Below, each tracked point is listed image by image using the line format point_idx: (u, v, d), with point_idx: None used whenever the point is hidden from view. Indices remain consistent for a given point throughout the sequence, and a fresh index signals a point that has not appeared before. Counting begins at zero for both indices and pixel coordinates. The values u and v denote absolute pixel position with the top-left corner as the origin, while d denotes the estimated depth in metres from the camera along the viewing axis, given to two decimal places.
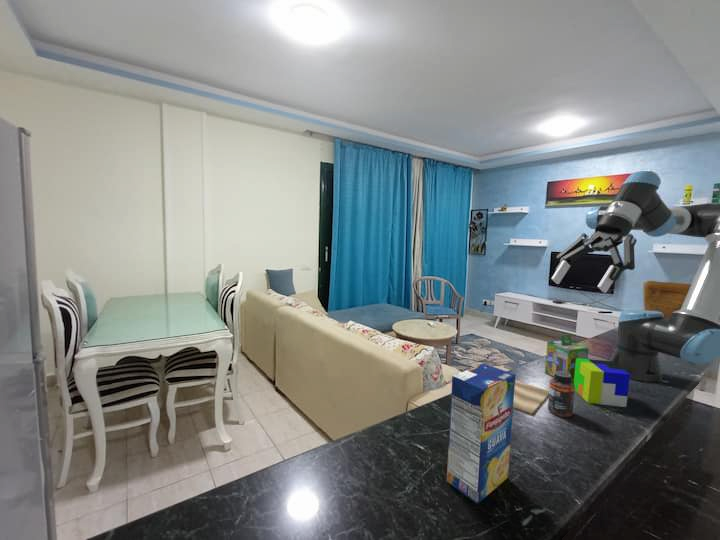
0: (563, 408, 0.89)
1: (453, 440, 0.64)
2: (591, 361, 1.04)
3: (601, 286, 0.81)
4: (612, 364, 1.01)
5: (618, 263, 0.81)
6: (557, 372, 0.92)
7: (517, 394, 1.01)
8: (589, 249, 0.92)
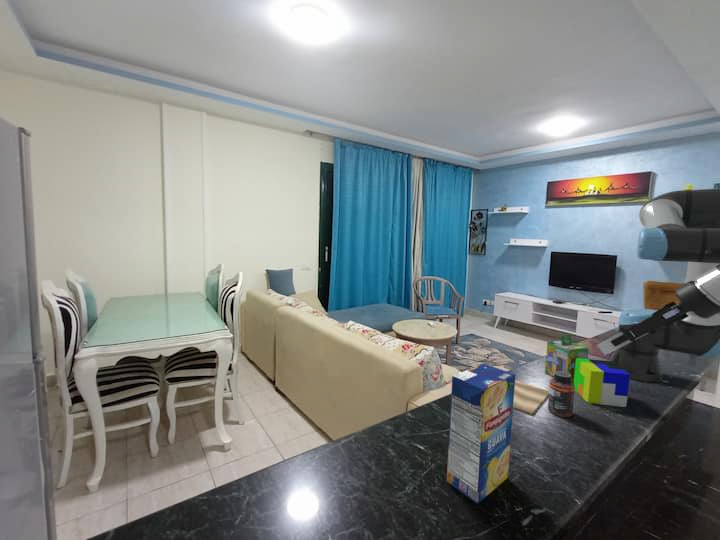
0: (563, 408, 0.89)
1: (453, 440, 0.64)
2: (591, 361, 1.04)
3: None
4: (612, 364, 1.01)
5: None
6: (557, 372, 0.92)
7: (517, 394, 1.01)
8: None
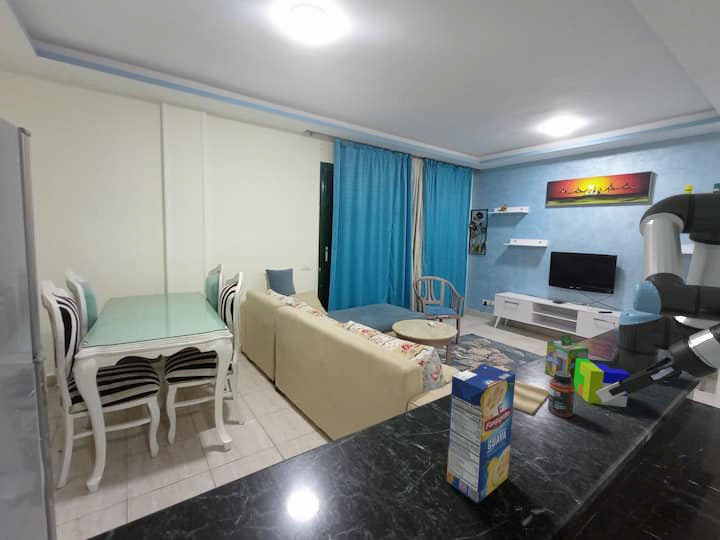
0: (563, 408, 0.89)
1: (453, 440, 0.64)
2: (591, 361, 1.04)
3: None
4: (612, 364, 1.01)
5: None
6: (557, 372, 0.92)
7: (517, 394, 1.01)
8: None
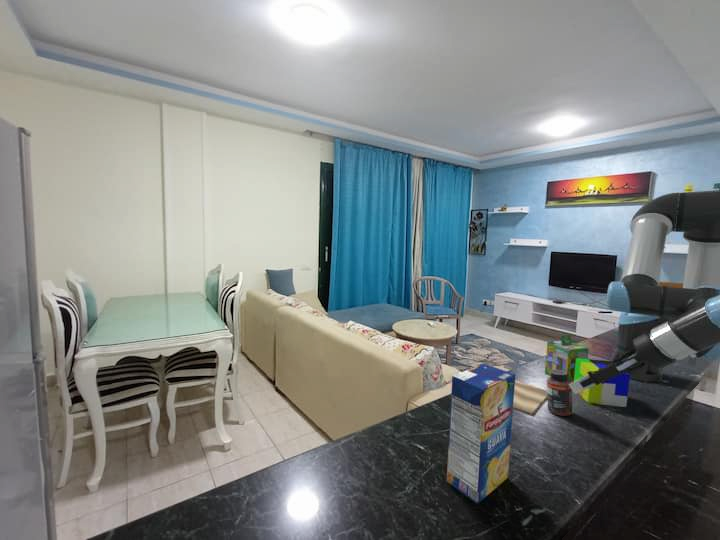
0: (562, 406, 0.89)
1: (453, 440, 0.64)
2: (591, 361, 1.04)
3: None
4: None
5: None
6: (553, 371, 0.92)
7: (517, 394, 1.01)
8: None
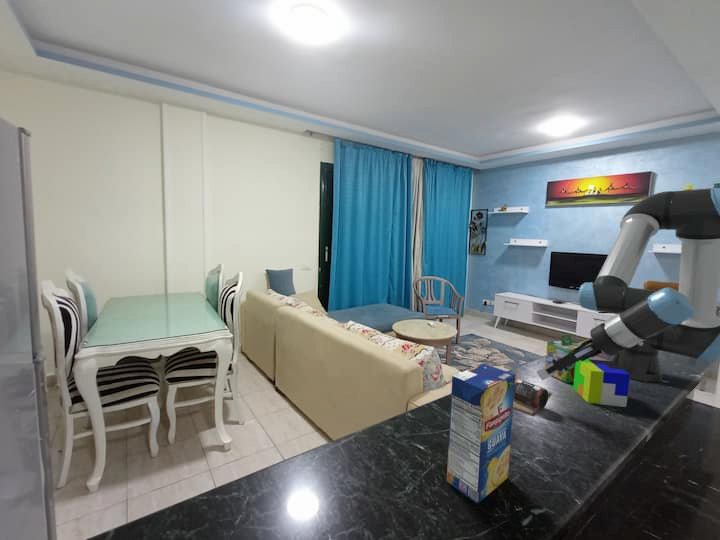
0: (529, 403, 0.93)
1: (453, 440, 0.64)
2: (591, 361, 1.04)
3: None
4: (612, 364, 1.01)
5: None
6: None
7: None
8: None
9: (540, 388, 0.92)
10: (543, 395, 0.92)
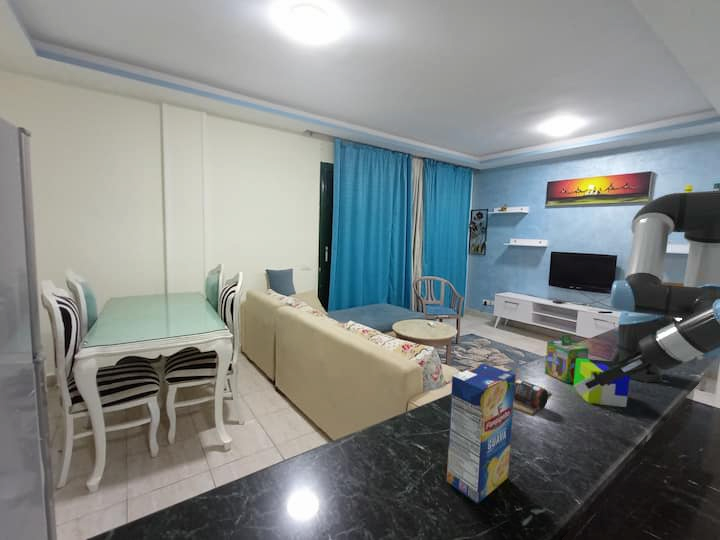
0: (529, 404, 0.93)
1: (453, 440, 0.64)
2: (591, 361, 1.04)
3: None
4: (612, 364, 1.01)
5: None
6: None
7: None
8: None
9: (539, 388, 0.92)
10: (543, 395, 0.92)
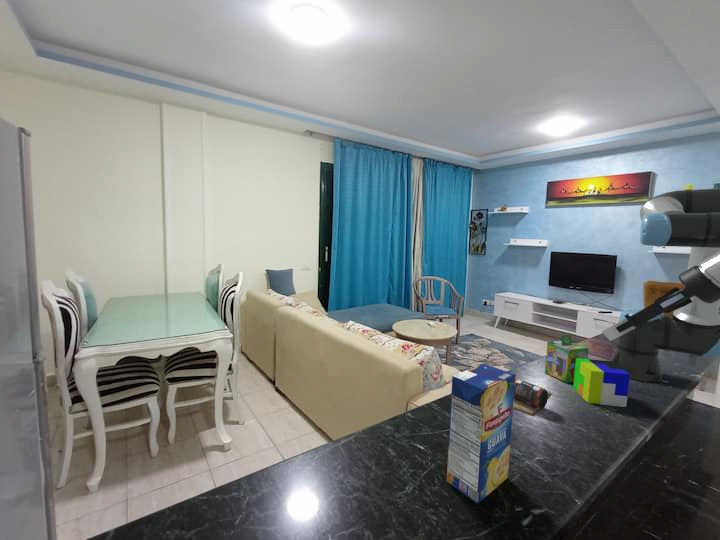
0: (529, 404, 0.93)
1: (453, 440, 0.64)
2: (591, 361, 1.04)
3: None
4: (612, 364, 1.01)
5: None
6: None
7: None
8: None
9: (539, 388, 0.92)
10: (543, 395, 0.92)
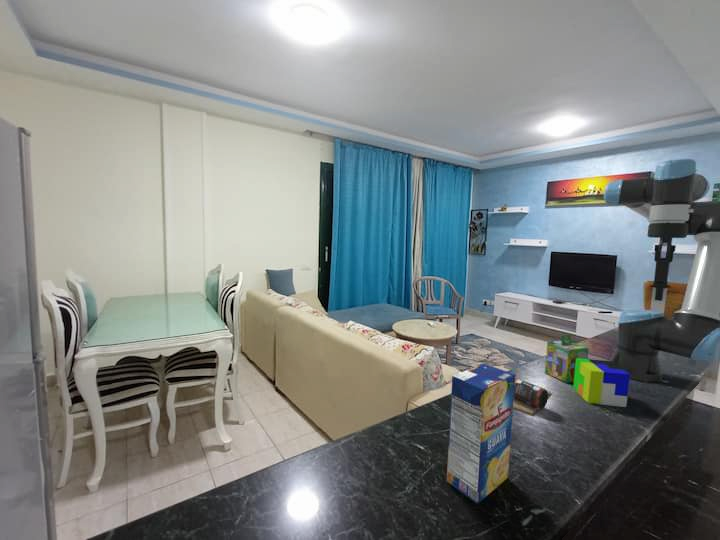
0: (529, 404, 0.93)
1: (453, 440, 0.64)
2: (591, 361, 1.04)
3: None
4: (612, 364, 1.01)
5: None
6: None
7: None
8: None
9: (539, 388, 0.92)
10: (543, 395, 0.92)
